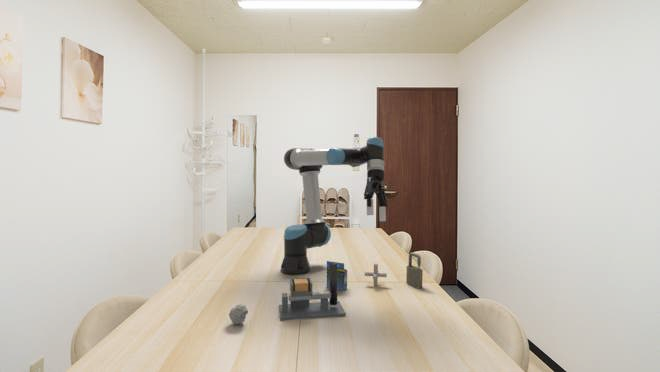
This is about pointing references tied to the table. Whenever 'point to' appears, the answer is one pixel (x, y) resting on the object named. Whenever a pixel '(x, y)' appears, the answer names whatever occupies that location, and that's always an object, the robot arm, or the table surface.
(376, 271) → the pipe connector
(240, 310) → the grey lumpy piece
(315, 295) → the rod with black post
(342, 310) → the frame
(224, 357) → the table surface
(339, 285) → the label tape cartridge
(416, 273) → the padlock
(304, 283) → the block
